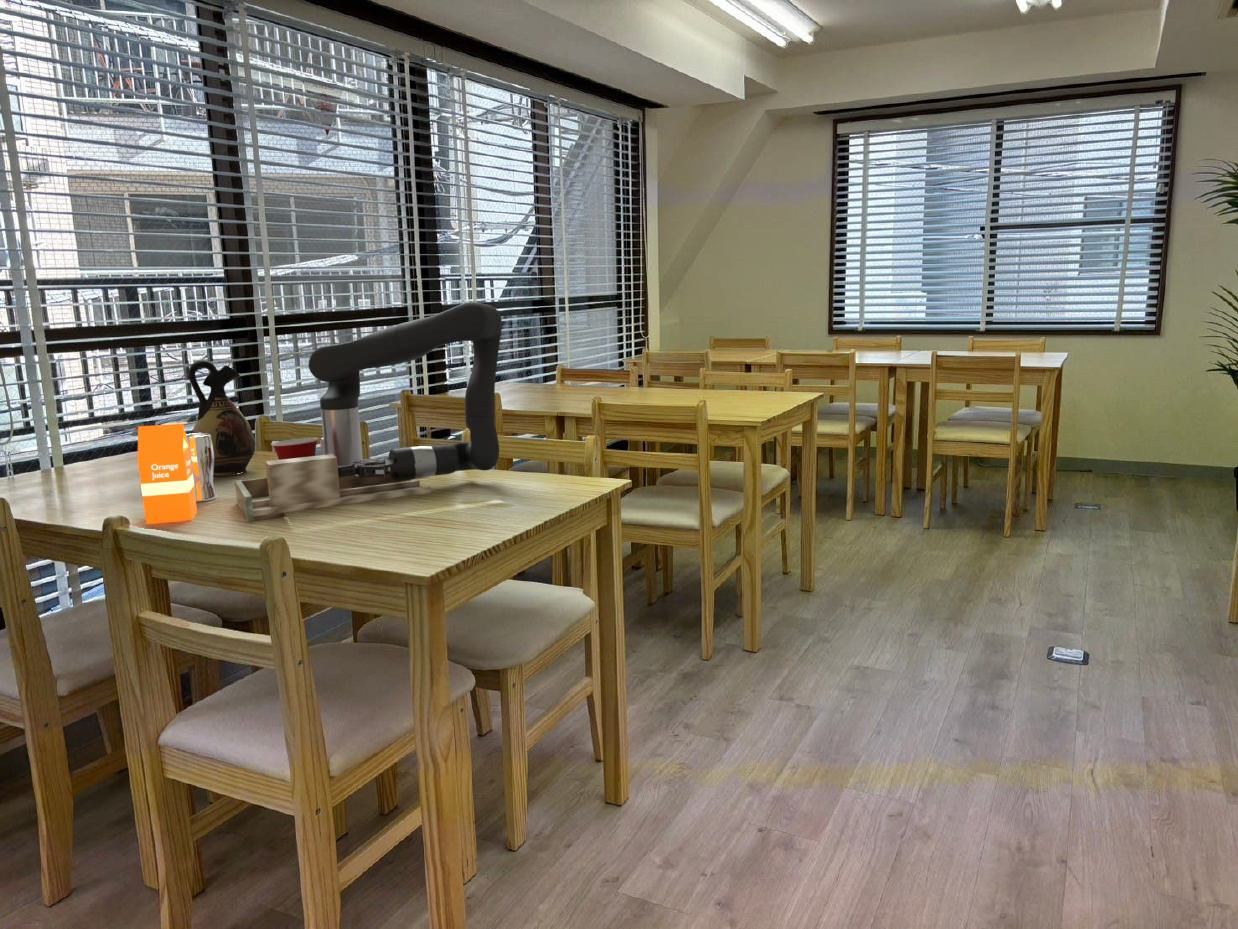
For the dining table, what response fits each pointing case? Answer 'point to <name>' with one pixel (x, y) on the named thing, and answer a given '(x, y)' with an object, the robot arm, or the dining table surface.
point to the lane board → (347, 496)
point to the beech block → (302, 480)
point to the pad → (260, 498)
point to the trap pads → (369, 484)
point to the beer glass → (202, 465)
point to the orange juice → (166, 474)
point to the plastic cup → (295, 448)
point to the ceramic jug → (222, 421)
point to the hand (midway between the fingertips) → (335, 472)
